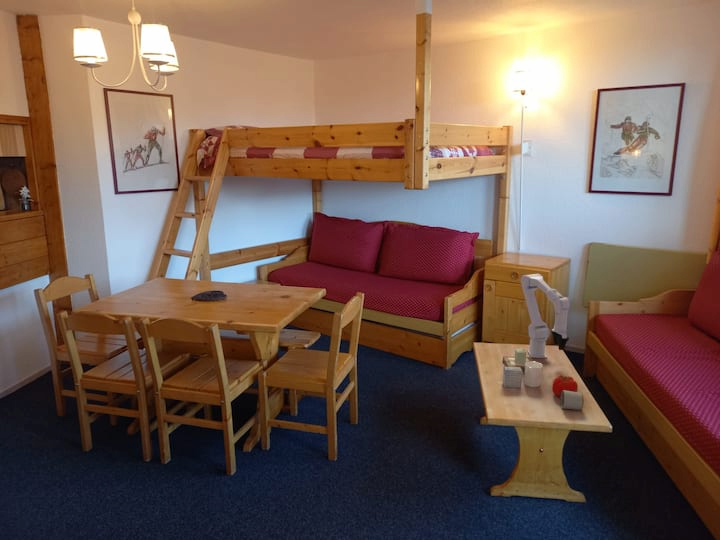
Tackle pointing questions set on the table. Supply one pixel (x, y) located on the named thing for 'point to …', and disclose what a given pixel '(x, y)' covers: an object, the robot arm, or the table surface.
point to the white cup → (533, 373)
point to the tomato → (564, 385)
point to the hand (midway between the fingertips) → (558, 347)
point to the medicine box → (512, 377)
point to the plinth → (511, 362)
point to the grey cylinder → (572, 400)
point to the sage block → (520, 356)
